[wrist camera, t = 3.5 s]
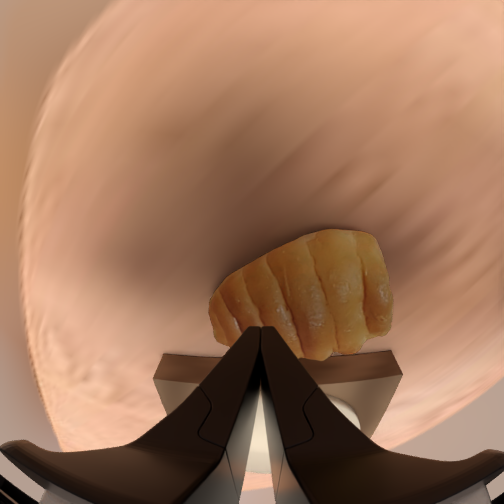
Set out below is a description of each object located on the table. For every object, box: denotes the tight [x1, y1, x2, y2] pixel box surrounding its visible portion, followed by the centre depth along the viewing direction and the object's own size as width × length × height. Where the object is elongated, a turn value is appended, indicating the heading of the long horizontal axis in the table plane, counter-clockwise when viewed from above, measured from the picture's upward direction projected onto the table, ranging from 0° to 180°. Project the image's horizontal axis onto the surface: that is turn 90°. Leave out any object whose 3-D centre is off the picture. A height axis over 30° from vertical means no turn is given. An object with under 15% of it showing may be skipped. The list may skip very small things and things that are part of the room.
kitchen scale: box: [153, 351, 403, 474], centre depth 18 cm, size 16×13×3 cm
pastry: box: [209, 229, 393, 361], centre depth 13 cm, size 9×7×4 cm
